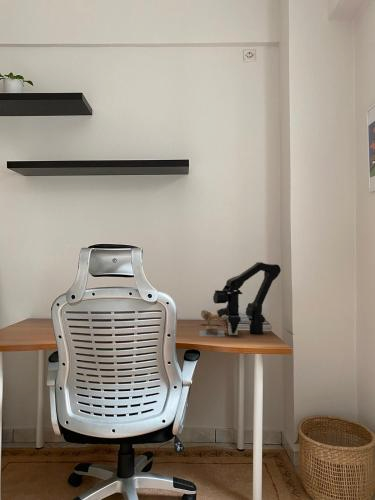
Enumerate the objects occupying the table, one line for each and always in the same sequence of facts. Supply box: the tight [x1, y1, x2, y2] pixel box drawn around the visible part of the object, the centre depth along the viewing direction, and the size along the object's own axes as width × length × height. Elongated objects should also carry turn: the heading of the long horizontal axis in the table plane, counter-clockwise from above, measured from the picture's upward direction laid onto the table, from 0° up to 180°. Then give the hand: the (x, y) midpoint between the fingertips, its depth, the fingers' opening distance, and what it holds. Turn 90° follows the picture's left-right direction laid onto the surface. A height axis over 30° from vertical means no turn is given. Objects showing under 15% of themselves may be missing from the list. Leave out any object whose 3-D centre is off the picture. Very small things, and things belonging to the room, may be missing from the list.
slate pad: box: [199, 330, 226, 337], centre depth 201 cm, size 13×14×1 cm
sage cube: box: [227, 324, 239, 336], centre depth 201 cm, size 4×4×4 cm
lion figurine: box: [200, 309, 226, 327], centre depth 228 cm, size 15×5×9 cm, turn 83°
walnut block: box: [205, 326, 219, 335], centre depth 201 cm, size 6×6×3 cm
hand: (232, 332), depth 201 cm, fingers closed on sage cube, 4 cm apart
